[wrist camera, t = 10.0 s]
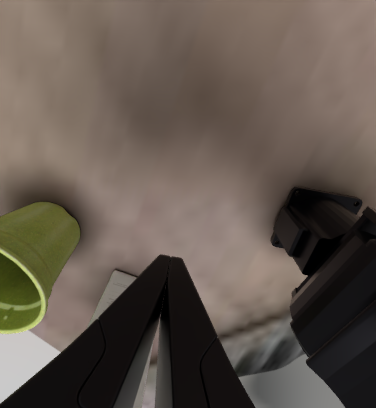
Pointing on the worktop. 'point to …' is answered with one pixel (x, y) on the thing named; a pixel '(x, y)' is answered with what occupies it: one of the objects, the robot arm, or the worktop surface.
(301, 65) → the worktop surface
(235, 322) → the worktop surface
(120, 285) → the skincare box
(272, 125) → the worktop surface
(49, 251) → the plant pot
